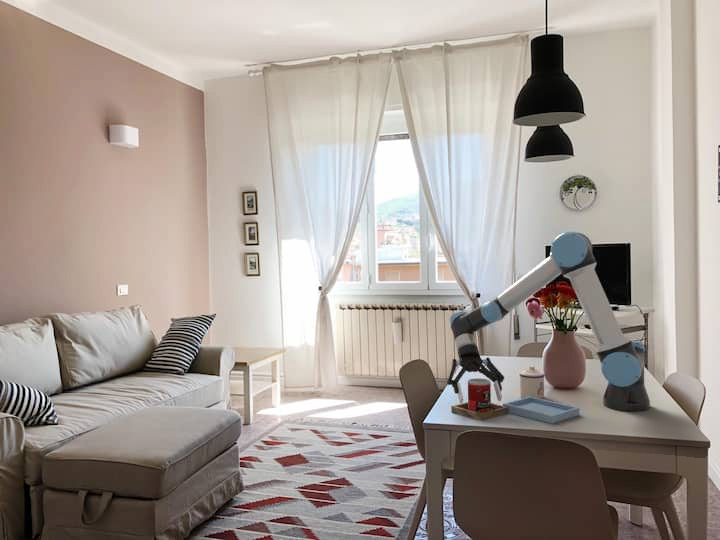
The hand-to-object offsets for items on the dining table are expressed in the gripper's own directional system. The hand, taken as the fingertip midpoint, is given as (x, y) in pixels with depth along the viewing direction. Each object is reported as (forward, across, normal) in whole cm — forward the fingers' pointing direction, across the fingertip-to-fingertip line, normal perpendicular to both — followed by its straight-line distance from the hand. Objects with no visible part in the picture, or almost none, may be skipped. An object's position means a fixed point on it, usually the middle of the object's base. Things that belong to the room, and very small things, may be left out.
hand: (481, 400), depth 202 cm
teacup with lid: (-10, -27, -18) cm, 34 cm away
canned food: (+2, 0, -5) cm, 5 cm away
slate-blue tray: (+5, -20, -2) cm, 21 cm away
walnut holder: (+2, 0, -5) cm, 5 cm away
